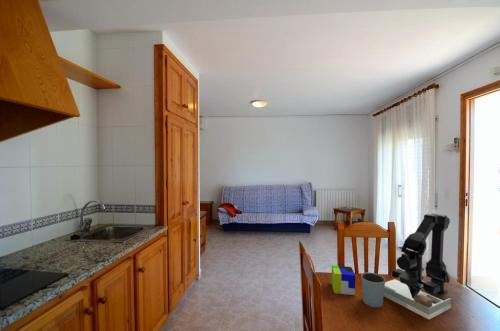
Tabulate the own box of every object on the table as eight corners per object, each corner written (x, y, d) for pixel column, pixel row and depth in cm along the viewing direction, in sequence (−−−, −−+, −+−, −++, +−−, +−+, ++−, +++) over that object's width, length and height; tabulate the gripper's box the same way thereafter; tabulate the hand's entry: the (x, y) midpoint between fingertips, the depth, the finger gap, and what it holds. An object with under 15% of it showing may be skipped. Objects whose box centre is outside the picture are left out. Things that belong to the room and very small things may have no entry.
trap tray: (394, 282, 134) (394, 274, 134) (450, 308, 111) (451, 298, 111) (373, 290, 126) (373, 281, 126) (428, 319, 103) (429, 309, 103)
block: (420, 300, 113) (420, 293, 113) (432, 306, 109) (432, 299, 109) (414, 303, 111) (414, 296, 111) (425, 309, 107) (426, 302, 107)
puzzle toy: (355, 295, 121) (355, 275, 121) (334, 293, 123) (334, 273, 123) (351, 285, 131) (351, 266, 131) (331, 283, 133) (331, 265, 133)
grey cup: (383, 299, 118) (384, 274, 117) (385, 311, 108) (386, 284, 108) (360, 294, 122) (361, 270, 122) (360, 305, 113) (361, 279, 112)
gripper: (384, 260, 118) (383, 292, 118) (426, 277, 101) (425, 314, 102) (398, 256, 123) (397, 287, 123) (441, 272, 106) (440, 307, 107)
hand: (413, 298), depth 114 cm, fingers closed
